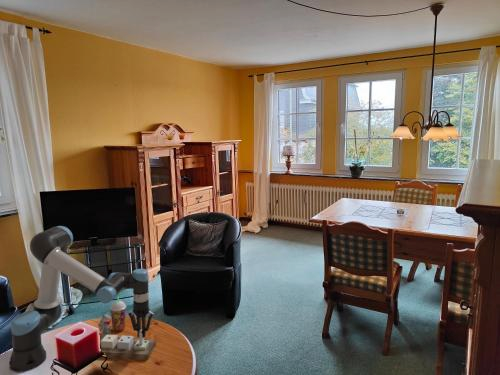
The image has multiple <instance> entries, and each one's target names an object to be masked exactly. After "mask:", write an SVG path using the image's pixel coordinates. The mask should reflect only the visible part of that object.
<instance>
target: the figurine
mask: <svg viewBox="0 0 500 375" xmlns="http://www.w3.org/2000/svg"><path fill="white" fill-rule="evenodd" d="M111 323H112V317H111V314H109V310H108V311H106V313H105V314H102V316H101V318H100V321H99V323H98V324H97V326H98V328H99V331H101V339H100V340H102V339H103V338H104V337H105V336H106V335H113V334H112V333H111V331H112V325H111Z"/></svg>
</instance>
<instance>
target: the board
mask: <svg viewBox="0 0 500 375" xmlns="http://www.w3.org/2000/svg"><path fill="white" fill-rule="evenodd" d="M120 338H121V336H120V337H118V340H119V339H120ZM138 340H139V337H137V338H135V337H133V343H134V344H133V345H132V347H131V348H130V350H126V349H117V344H116V346H115V347H114V348H113V349H109V348H101V341H100V342H99V343H100V349H101V351H103V352H104V353H105V354H106V355H107V357H108V358H107V359H124V360H140V361H148V360H149V358H150V357H151V355H152V353H153V351H154V349H156V346H157V339H152V338H144V340H148V341H149V346H148V348H147V350H146V351H143V350H134V345H135V344H136V342H137V341H138Z"/></svg>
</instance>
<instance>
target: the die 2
mask: <svg viewBox="0 0 500 375" xmlns="http://www.w3.org/2000/svg"><path fill="white" fill-rule="evenodd" d="M133 338H134V336H133V335H124V334H123V335H121V336H120V339H119V340H118V342H117V349H126V350H130V348H131V347H132V345H133V344H134V343H133Z"/></svg>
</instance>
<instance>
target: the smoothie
mask: <svg viewBox="0 0 500 375" xmlns="http://www.w3.org/2000/svg"><path fill="white" fill-rule="evenodd" d="M110 315H111V328H112V330H113V331H114V332H115V333H119V332H122V331H124V329H125V328H126V318H127V317H126V316H127V305H126V303H125V302H124V301H123V300H120V297H119V296H118V295H117V300H115V301H114V302H113V303H112V305H111V306H110Z"/></svg>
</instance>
